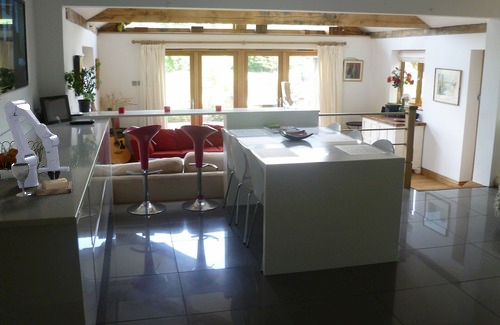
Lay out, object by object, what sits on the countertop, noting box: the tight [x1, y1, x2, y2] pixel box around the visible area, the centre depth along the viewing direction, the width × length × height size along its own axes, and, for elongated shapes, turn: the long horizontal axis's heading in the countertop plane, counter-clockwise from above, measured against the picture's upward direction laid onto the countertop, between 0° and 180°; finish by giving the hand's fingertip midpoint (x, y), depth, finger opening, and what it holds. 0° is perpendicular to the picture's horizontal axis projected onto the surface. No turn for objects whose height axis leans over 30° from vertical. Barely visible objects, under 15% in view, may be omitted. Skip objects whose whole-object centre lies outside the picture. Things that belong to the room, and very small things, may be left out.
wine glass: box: [10, 162, 33, 198], centre depth 238 cm, size 8×8×15 cm
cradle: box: [35, 180, 73, 196], centre depth 246 cm, size 16×14×2 cm
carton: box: [43, 177, 69, 190], centre depth 245 cm, size 10×7×5 cm
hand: (55, 185), depth 250 cm, fingers closed
